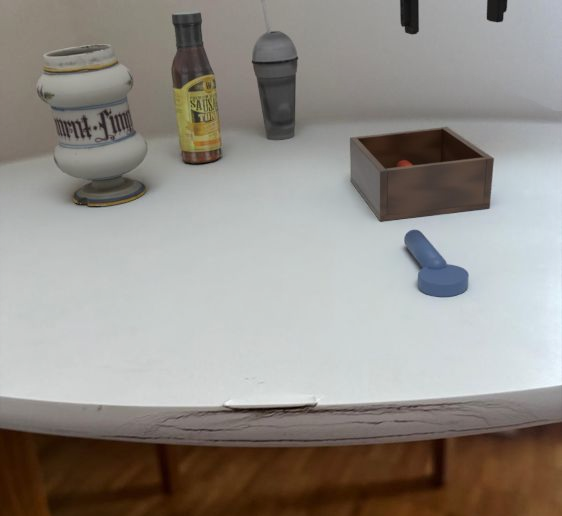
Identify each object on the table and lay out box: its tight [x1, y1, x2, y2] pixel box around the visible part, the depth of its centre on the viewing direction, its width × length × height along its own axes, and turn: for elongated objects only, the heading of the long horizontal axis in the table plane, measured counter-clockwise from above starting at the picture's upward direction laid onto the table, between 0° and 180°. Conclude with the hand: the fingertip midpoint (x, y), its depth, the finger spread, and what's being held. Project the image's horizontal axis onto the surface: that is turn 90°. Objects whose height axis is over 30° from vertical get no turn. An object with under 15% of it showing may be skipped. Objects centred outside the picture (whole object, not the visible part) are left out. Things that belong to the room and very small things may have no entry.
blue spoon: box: [403, 229, 470, 298], centre depth 65 cm, size 12×4×2 cm, turn 7°
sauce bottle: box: [170, 11, 222, 164], centre depth 100 cm, size 7×6×20 cm
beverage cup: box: [251, 0, 299, 141], centre depth 108 cm, size 7×7×20 cm
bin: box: [349, 126, 495, 222], centre depth 83 cm, size 13×16×6 cm
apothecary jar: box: [36, 43, 149, 207], centre depth 89 cm, size 12×12×18 cm
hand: (453, 27), depth 78 cm, fingers open, 9 cm apart
